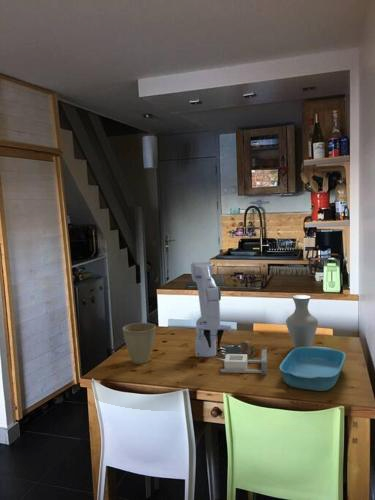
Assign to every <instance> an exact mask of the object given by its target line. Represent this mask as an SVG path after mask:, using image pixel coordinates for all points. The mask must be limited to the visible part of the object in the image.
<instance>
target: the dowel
mask: <svg viewBox="0 0 375 500" xmlns="http://www.w3.org/2000/svg"><path fill="white" fill-rule="evenodd" d="M250 350H251V349H250V341H249V340H242V341H240V354H247V357H250V355H251V354H250V353H251V351H250Z"/></svg>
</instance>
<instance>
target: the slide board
mask: <svg viewBox="0 0 375 500" xmlns="http://www.w3.org/2000/svg"><path fill="white" fill-rule="evenodd" d="M247 360H248V364H261V359H247ZM224 361H225V358H224V359H223V362H222V363H224ZM220 373H239V374H240V373H243V374H247V373H248V374H262V369H248V368H247V369H225V368H220Z"/></svg>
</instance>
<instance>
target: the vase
mask: <svg viewBox="0 0 375 500" xmlns="http://www.w3.org/2000/svg"><path fill="white" fill-rule="evenodd" d="M291 298H292V300H293V302H294V304H295V307H294V308H295V309H294V312H293V313H292V314H291V315H290V316H288V317H287V318H286V320H285V322H286V328H287V331H288V333H289V338H290V339H291V342H292V344H293V347H294V349H295V348H298V347H312V344H313V341H314V339H315V335H316V333H317V329H318V325H319V324H318V323H319V321H318V319H317V318H316V317H315V316H314V315H312V313H310V311H309V309H308V306H309V302H310V299H311V296H310V295H305V294H297V295H292V297H291Z"/></svg>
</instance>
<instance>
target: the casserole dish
mask: <svg viewBox="0 0 375 500" xmlns="http://www.w3.org/2000/svg"><path fill="white" fill-rule="evenodd" d="M346 357H347V356H346V353H345V352H344V351H342V350H340V349H339V350H338V349H333V348H330V347H326V346H325V347H324V346H314V345H313V346H312V345H311V346H310V347H298V348H295V347H294V348H293V349H292V350H290V352H289V353H288V354H287V355H286V356H285V358H284V359H283V360H282V361H281V363H280V365H279V370H280V373H281V376H282V379H283V381H284V383H285V384H286V385H288V386H289V387H292V388H297V389H301V390H310V391H318V392H326V391H329V390H330V389H332V388H333V387H334V386H335V385H336V383H337V381H338V380H339V377H340V375H341V372H342V370H343V367H344V363H345V361H346Z"/></svg>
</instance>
